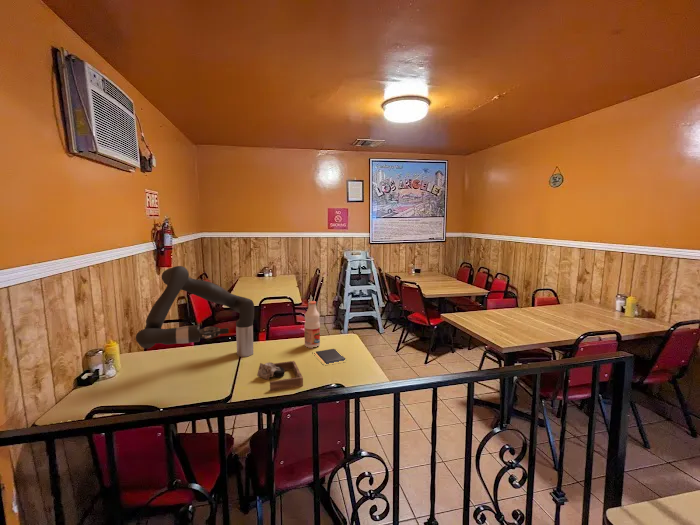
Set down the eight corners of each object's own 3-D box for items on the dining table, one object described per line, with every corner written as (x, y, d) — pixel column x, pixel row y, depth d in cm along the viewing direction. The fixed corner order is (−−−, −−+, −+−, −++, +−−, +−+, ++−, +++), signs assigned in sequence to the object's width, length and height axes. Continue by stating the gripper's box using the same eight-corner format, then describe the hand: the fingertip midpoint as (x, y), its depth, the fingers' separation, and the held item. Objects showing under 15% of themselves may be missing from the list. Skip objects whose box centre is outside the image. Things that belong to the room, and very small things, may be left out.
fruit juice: (306, 342, 218) (306, 299, 214) (320, 343, 218) (320, 300, 214) (303, 348, 209) (303, 303, 205) (318, 348, 208) (318, 303, 205)
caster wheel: (285, 377, 176) (276, 384, 166) (266, 370, 179) (256, 376, 169) (288, 365, 176) (279, 370, 166) (269, 358, 178) (259, 363, 169)
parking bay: (265, 372, 176) (264, 364, 176) (294, 367, 182) (294, 360, 181) (270, 390, 157) (270, 382, 157) (302, 385, 163) (302, 377, 162)
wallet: (348, 359, 190) (322, 363, 184) (348, 362, 190) (322, 367, 184) (335, 346, 208) (311, 350, 202) (335, 349, 209) (311, 353, 203)
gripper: (186, 331, 148) (228, 327, 154) (188, 322, 161) (228, 318, 167) (187, 347, 149) (229, 343, 155) (189, 337, 162) (228, 333, 168)
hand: (228, 330), depth 161 cm, fingers closed
